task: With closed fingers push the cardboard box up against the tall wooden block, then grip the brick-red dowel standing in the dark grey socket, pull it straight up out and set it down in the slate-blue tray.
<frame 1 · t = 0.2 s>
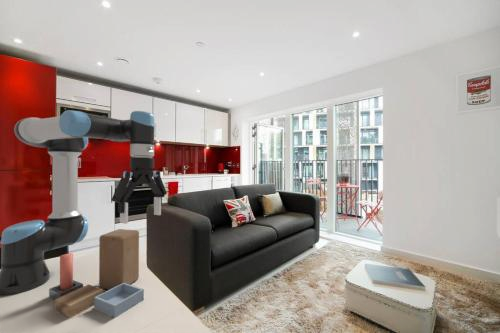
hand: (142, 218, 78), 28 cm above the table, fingers open, 13 cm apart
wooden block: (119, 284, 88), on the table
cardboard box: (80, 306, 74), on the table
tray: (119, 304, 75), on the table
socket: (66, 294, 80), on the table
dowel: (66, 275, 80), in the socket
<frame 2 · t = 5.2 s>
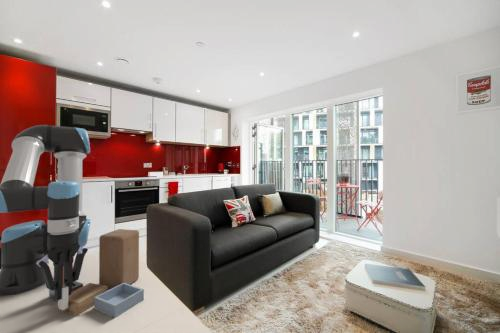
hand: (63, 307, 70), 2 cm above the table, fingers closed
cardboard box: (84, 304, 75), on the table
everything else where it was.
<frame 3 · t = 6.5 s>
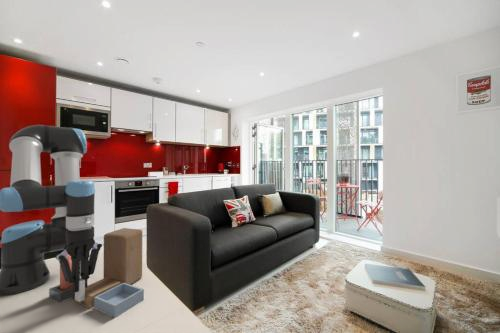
hand: (79, 299, 74), 2 cm above the table, fingers closed
wooden block: (123, 282, 89), on the table
cardboard box: (99, 297, 79), on the table
everything else where it was.
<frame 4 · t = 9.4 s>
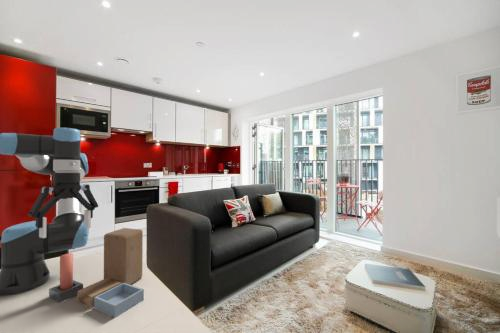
hand: (66, 232, 80), 22 cm above the table, fingers open, 13 cm apart
nothing on the table moved.
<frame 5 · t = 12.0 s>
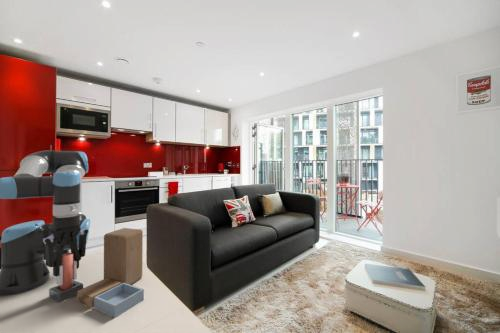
hand: (66, 281, 80), 5 cm above the table, fingers closed on dowel, 3 cm apart
dowel: (66, 274, 80), in the socket, touching gripper
everything else where it was.
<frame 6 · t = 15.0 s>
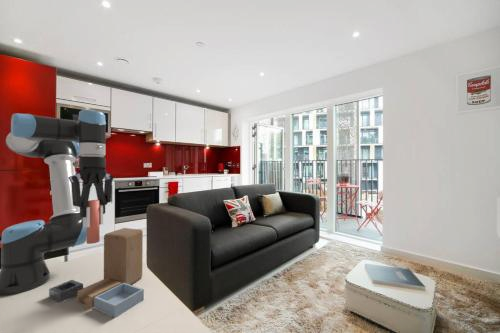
hand: (93, 225, 77), 26 cm above the table, fingers closed on dowel, 3 cm apart
dowel: (93, 221, 77), point 27 cm above the table, touching gripper
everything else where it was.
when the fingers open (7 cm above the table, at t = 18.6 s): dowel drops 1 cm, resting on tray.
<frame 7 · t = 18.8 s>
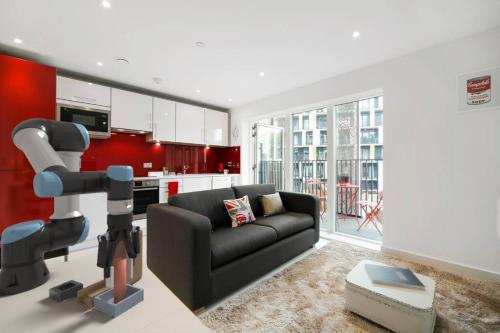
hand: (119, 281, 75), 7 cm above the table, fingers open, 6 cm apart
dowel: (120, 280, 75), in the tray, point 8 cm above the table
everything else where it was.
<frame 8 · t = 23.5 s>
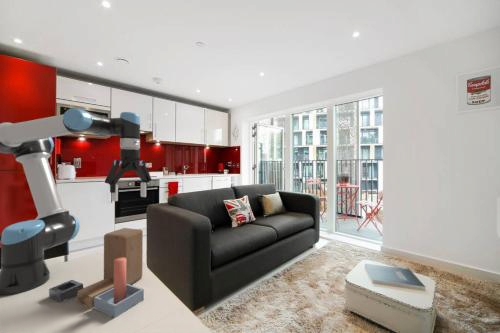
hand: (129, 198, 97), 32 cm above the table, fingers open, 13 cm apart
nothing on the table moved.
at the end: cardboard box inside the target area on the table beside the wooden block (2.1 cm from its centre), on the table; dowel inside the target area on the tray (0.0 cm from its centre), point 7.6 cm above the tray's base; the gripper is holding nothing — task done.
